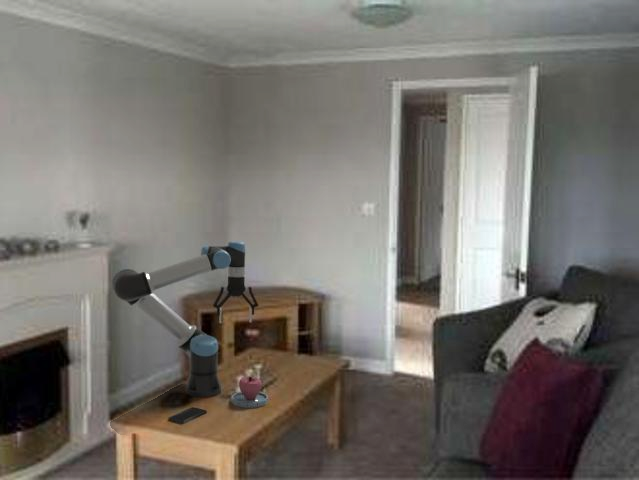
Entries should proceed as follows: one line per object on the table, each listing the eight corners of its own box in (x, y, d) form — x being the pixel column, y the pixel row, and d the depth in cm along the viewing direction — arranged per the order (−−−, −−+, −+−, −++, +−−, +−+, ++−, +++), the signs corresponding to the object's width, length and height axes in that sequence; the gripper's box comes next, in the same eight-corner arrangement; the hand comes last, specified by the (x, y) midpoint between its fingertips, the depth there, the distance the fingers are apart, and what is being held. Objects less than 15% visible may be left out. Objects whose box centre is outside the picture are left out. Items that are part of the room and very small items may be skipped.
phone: (208, 410, 266) (182, 422, 253) (208, 413, 266) (182, 425, 253) (192, 406, 270) (166, 418, 257) (192, 409, 270) (166, 420, 257)
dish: (233, 408, 272) (234, 403, 271) (229, 396, 286) (229, 391, 286) (270, 406, 275) (270, 401, 275) (264, 394, 290) (265, 390, 289)
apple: (265, 399, 280) (265, 376, 279) (248, 403, 274) (248, 379, 273) (251, 393, 287) (252, 370, 286) (234, 397, 281) (235, 374, 280)
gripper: (208, 277, 297) (208, 324, 300) (265, 277, 303) (263, 323, 305) (207, 274, 305) (206, 320, 307) (262, 274, 311) (261, 319, 313)
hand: (235, 322), depth 306 cm, fingers open, 13 cm apart
